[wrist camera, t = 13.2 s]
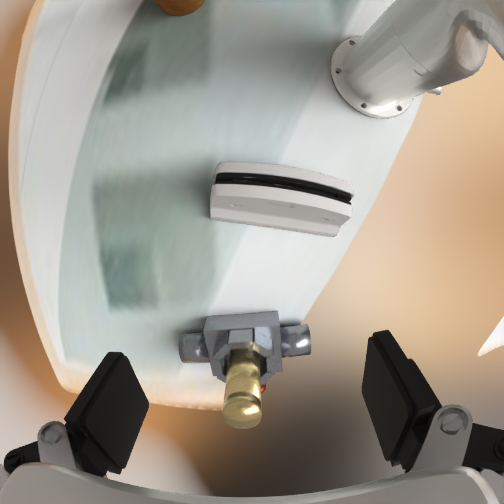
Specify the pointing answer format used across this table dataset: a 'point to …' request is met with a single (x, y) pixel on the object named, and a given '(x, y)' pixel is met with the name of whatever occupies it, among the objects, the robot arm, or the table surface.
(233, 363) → the brass cylinder
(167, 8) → the disposable coffee cup
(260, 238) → the table surface
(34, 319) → the table surface
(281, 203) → the white slotted block
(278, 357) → the valve body
